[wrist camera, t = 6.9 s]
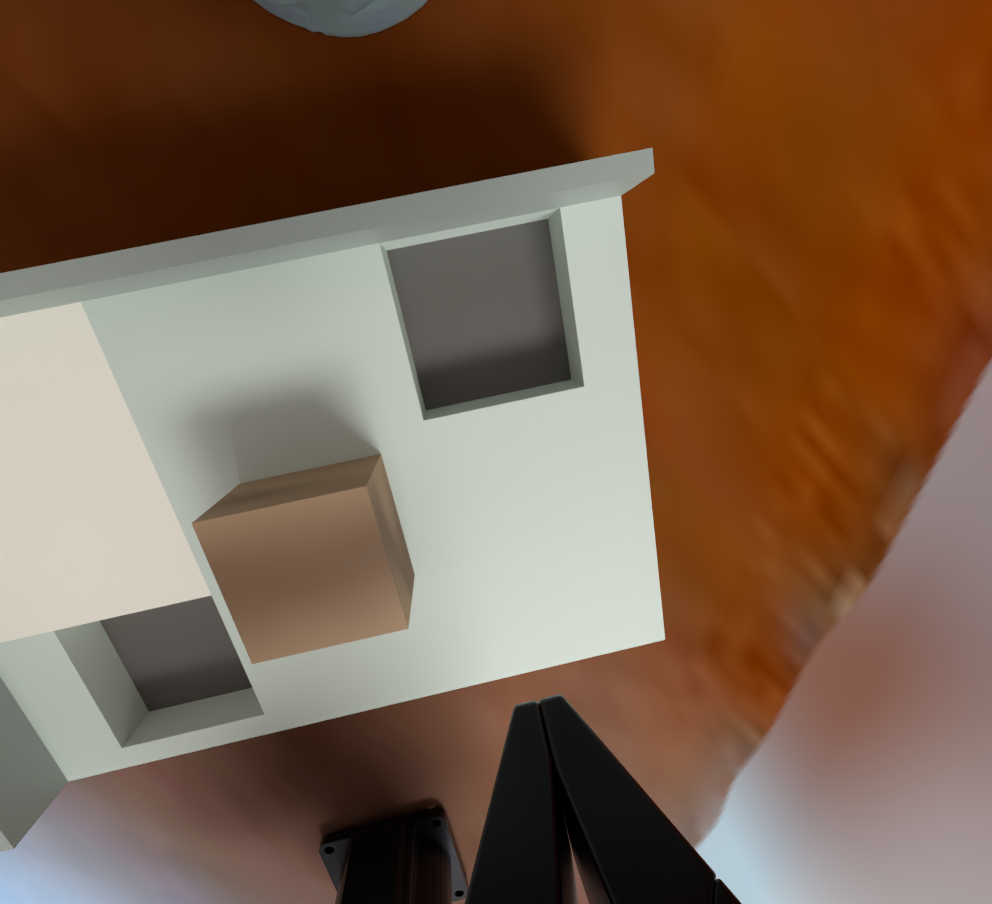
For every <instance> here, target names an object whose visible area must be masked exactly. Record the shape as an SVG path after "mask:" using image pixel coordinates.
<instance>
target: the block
mask: <svg viewBox="0 0 992 904" xmlns="http://www.w3.org/2000/svg"><path fill="white" fill-rule="evenodd" d="M191 524H192V526H193V528H194V531H195V533H196V535H197V537H198V540H199V542H200V544H201V547H202V549H203V551H204V554H205V556H206V558H207V561H208V563H209V565H210V568H211V570H212V572H213V575H214V577H215V579H216V582H217V584H218V586H219V589H220V591H221V593H222V595H223V598H224V600H225V602H226V605H227V607H228V609H229V612H230V614H231V616H232V619H233V621H234V623H235V626H236V628H237V630H238V633H239V635H240V637H241V640H242V642H243V644H244V646H245V649H246V651H247V653H248V656H249V658H250V660H251V663H252V664H256V663H260V662H264V661H269V660H273V659H278V658H282V657H286V656H291V655H295V654H300V653H304V652H308V651H313V650H317V649H322V648H326V647H330V646H335V645H339V644H344V643H348V642H352V641H357V640H361V639H366V638H370V637H374V636H379V635H383V634H388V633H392V632H396V631H401V630H405V629H408V627H409V619H410V611H411V602H412V594H413V586H414V578H415V574H414V570H413V567H412V563H411V559H410V556H409V552H408V549H407V545H406V542H405V538H404V534H403V531H402V527H401V524H400V520H399V516H398V513H397V509H396V506H395V502H394V498H393V495H392V491H391V488H390V484H389V481H388V477H387V473H386V470H385V466H384V463H383V459H382V455H381V454H378V455H373V456H369V457H364V458H359V459H354V460H350V461H345V462H340V463H335V464H331V465H326V466H321V467H316V468H312V469H307V470H302V471H297V472H293V473H288V474H283V475H278V476H274V477H269V478H264V479H259V480H255V481H250V482H245V483H240V484H239V485H237V486H236V487H235V488H234V489H232V490H231V491H230V492H229V493H228V494H226V495H225V496H224V497H223V498H222V499H220V500H219V501H218V502H217V503H215V504H214V505H213V506H212V507H211V508H209V509H208V510H207V511H206V512H205V513H203V514H202V515H201V516H200V517H199V518H197V519H196V520H195V521H194V522H192V523H191Z"/></svg>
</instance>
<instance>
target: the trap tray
mask: <svg viewBox="0 0 992 904" xmlns="http://www.w3.org/2000/svg"><path fill="white" fill-rule="evenodd" d="M652 174H654V161H653V149H652V148H648V149H643V150H638V151H633V152H628V153H622V154H617V155H612V156H607V157H602V158H596V159H591V160H586V161H581V162H576V163H570V164H565V165H560V166H555V167H550V168H545V169H539V170H534V171H529V172H524V173H519V174H513V175H508V176H503V177H498V178H493V179H487V180H482V181H477V182H472V183H467V184H461V185H456V186H451V187H446V188H441V189H436V190H430V191H425V192H420V193H415V194H410V195H404V196H399V197H394V198H389V199H384V200H378V201H373V202H368V203H363V204H358V205H352V206H347V207H342V208H337V209H332V210H327V211H321V212H316V213H311V214H306V215H301V216H295V217H290V218H285V219H280V220H275V221H269V222H264V223H259V224H254V225H249V226H243V227H238V228H233V229H228V230H223V231H218V232H212V233H207V234H202V235H197V236H192V237H186V238H181V239H176V240H171V241H166V242H160V243H155V244H150V245H145V246H140V247H134V248H129V249H124V250H119V251H114V252H108V253H103V254H98V255H93V256H88V257H83V258H77V259H72V260H67V261H62V262H57V263H51V264H46V265H41V266H36V267H31V268H25V269H20V270H15V271H10V272H5V273H0V852H2V851H6V850H11V849H14V848H15V847H16V845H17V844H18V843H19V842H20V841H21V839H22V838H23V837H24V836H25V834H26V833H27V832H28V831H29V829H30V828H31V827H32V826H33V824H34V823H35V822H36V821H37V819H38V818H39V817H40V816H41V815H42V813H43V812H44V811H45V810H46V808H47V807H48V806H49V805H50V803H51V802H52V801H53V800H54V798H55V797H56V796H57V795H58V793H59V792H60V791H61V790H62V789H63V787H64V786H65V785H66V784H67V782H68V781H72V780H76V779H81V778H85V777H89V776H93V775H97V774H102V773H106V772H110V771H114V770H118V769H123V768H127V767H131V766H135V765H139V764H144V763H148V762H152V761H156V760H160V759H165V758H169V757H173V756H177V755H182V754H186V753H190V752H194V751H198V750H203V749H207V748H211V747H215V746H219V745H224V744H228V743H232V742H236V741H240V740H245V739H249V738H253V737H257V736H261V735H266V734H270V733H274V732H278V731H283V730H287V729H291V728H295V727H299V726H304V725H308V724H312V723H316V722H320V721H325V720H329V719H333V718H337V717H341V716H346V715H350V714H354V713H358V712H362V711H367V710H371V709H375V708H379V707H384V706H388V705H392V704H396V703H400V702H405V701H409V700H413V699H417V698H421V697H426V696H430V695H434V694H438V693H442V692H447V691H451V690H455V689H459V688H463V687H468V686H472V685H476V684H480V683H485V682H489V681H493V680H497V679H501V678H506V677H510V676H514V675H518V674H522V673H527V672H531V671H535V670H539V669H543V668H548V667H552V666H556V665H560V664H564V663H569V662H573V661H577V660H581V659H586V658H590V657H594V656H598V655H602V654H607V653H611V652H615V651H619V650H623V649H628V648H632V647H636V646H640V645H644V644H649V643H653V642H657V641H661V640H665V634H664V624H663V614H662V604H661V594H660V583H659V573H658V563H657V553H656V543H655V533H654V523H653V513H652V503H651V493H650V483H649V473H648V463H647V453H646V443H645V433H644V423H643V413H642V403H641V393H640V383H639V372H638V362H637V352H636V342H635V332H634V322H633V312H632V302H631V292H630V282H629V272H628V262H627V252H626V242H625V232H624V222H623V212H622V202H621V195H623V194H624V193H626V192H627V191H629V190H630V189H632V188H633V187H635V186H636V185H638V184H639V183H641V182H642V181H643V180H645V179H646V178H648V177H649V176H651V175H652ZM378 454H381V455H382V459H383V463H384V466H385V470H386V473H387V477H388V481H389V484H390V488H391V491H392V495H393V498H394V502H395V506H396V509H397V513H398V516H399V520H400V524H401V527H402V531H403V534H404V538H405V542H406V545H407V549H408V552H409V556H410V559H411V563H412V567H413V570H414V574H415V578H414V586H413V594H412V602H411V611H410V619H409V627H408V629H405V630H401V631H396V632H392V633H388V634H383V635H379V636H374V637H370V638H366V639H361V640H357V641H352V642H348V643H344V644H339V645H335V646H330V647H326V648H322V649H317V650H313V651H308V652H304V653H300V654H295V655H291V656H286V657H282V658H278V659H273V660H269V661H264V662H260V663H256V664H252V663H251V660H250V658H249V656H248V653H247V651H246V649H245V646H244V644H243V642H242V640H241V637H240V635H239V633H238V630H237V628H236V626H235V623H234V621H233V619H232V616H231V614H230V612H229V609H228V607H227V605H226V602H225V600H224V598H223V595H222V593H221V591H220V589H219V586H218V584H217V582H216V579H215V577H214V575H213V572H212V570H211V568H210V565H209V563H208V561H207V558H206V556H205V554H204V551H203V549H202V547H201V544H200V542H199V540H198V537H197V535H196V533H195V531H194V528H193V526H192V524H191V523H192V522H194V521H195V520H196V519H197V518H199V517H200V516H201V515H202V514H203V513H205V512H206V511H207V510H208V509H209V508H211V507H212V506H213V505H214V504H215V503H217V502H218V501H219V500H220V499H222V498H223V497H224V496H225V495H226V494H228V493H229V492H230V491H231V490H232V489H234V488H235V487H236V486H237V485H239V484H240V483H245V482H250V481H255V480H259V479H264V478H269V477H274V476H278V475H283V474H288V473H293V472H297V471H302V470H307V469H312V468H316V467H321V466H326V465H331V464H335V463H340V462H345V461H350V460H354V459H359V458H364V457H369V456H373V455H378Z"/></svg>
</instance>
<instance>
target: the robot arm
mask: <svg viewBox="0 0 992 904" xmlns="http://www.w3.org/2000/svg"><path fill="white" fill-rule="evenodd" d="M539 706H540V707H539ZM562 809H563V810H562ZM564 818H565V819H564ZM565 823H566V824H565ZM566 827H567V828H566ZM567 831H568V833H567ZM568 836H569V838H568ZM569 840H570V843H571V847H572V851H573V855H574V858H575V861H576V864H577V868H578V871H579V874H580V877H581V880H582V883H583V886H584V889H585V892H586V895H587V898H588V901H589V904H741V903H740V902H739V900H738V899H737V898H736V897H735V896H734V894H733V893H732V892H731V891H730V890H729V889H728V887H727V886H726V885H725V884H724V883H723V882H722V881H721V880H720V879H717V880H716V875H715V873H714V871H713V870H712V869H711V868H710V867H709V866H708V864H707V863H706V862H705V861H704V860H703V859H702V857H701V856H699V854H698V853H697V852H696V850H695V849H694V848H693V847H692V846H691V845H690V843H689V842H688V841H687V840H686V839H685V838H684V836H683V835H682V834H681V833H680V832H679V831H678V829H677V828H676V827H675V826H674V825H673V824H672V822H671V821H670V820H669V819H668V818H667V817H666V815H665V814H664V813H663V812H662V811H661V810H660V808H659V807H658V806H657V805H656V804H655V803H654V801H653V800H652V799H651V798H650V797H649V796H648V794H647V793H646V792H645V791H644V790H643V789H642V787H641V786H640V785H639V784H638V783H637V782H636V780H635V779H634V778H633V777H632V776H631V775H630V773H629V772H628V771H627V770H626V769H625V768H624V766H623V765H622V764H621V763H620V762H619V761H618V759H617V758H616V757H615V756H614V755H613V754H612V752H611V751H610V750H609V749H608V748H607V747H606V745H605V744H604V743H603V742H602V741H601V740H600V738H599V737H598V736H597V735H596V734H595V733H594V731H593V730H592V729H591V728H590V727H589V726H588V724H587V723H586V722H585V721H584V720H583V719H582V717H581V716H580V715H579V714H578V713H577V712H576V710H575V709H574V708H573V707H572V706H571V705H570V703H569V702H568V701H567V700H566V699H565V698H564V697H563V696H562V695H554V696H550V697H546V698H542V699H540V701H539V704H538V702H537V701H535V700H533V701H529V702H525V703H521V704H517V705H516V706H515V707H514V709H513V713H512V717H511V721H510V725H509V729H508V733H507V737H506V741H505V745H504V749H503V753H502V757H501V761H500V765H499V769H498V773H497V777H496V781H495V785H494V789H493V793H492V797H491V801H490V805H489V809H488V813H487V817H486V821H485V825H484V829H483V833H482V837H481V841H480V845H479V849H478V853H477V857H476V861H475V865H474V869H473V873H472V877H471V881H470V885H469V889H468V881H467V878H466V875H465V872H464V869H463V865H462V862H461V859H460V856H459V853H458V850H457V847H456V843H455V840H454V837H453V834H452V831H451V828H450V825H449V821H448V818H447V815H446V813H445V811H444V810H442V809H439V808H437V809H431V810H427V811H423V812H419V813H415V814H411V815H407V816H403V817H399V818H395V819H391V820H387V821H383V822H379V823H375V824H371V825H367V826H363V827H359V828H355V829H351V830H347V831H342V832H338V833H334V834H330V835H327V836H325V837H324V838H322V840H321V844H320V848H319V853H320V855H321V857H322V860H323V862H324V864H325V866H326V868H327V871H328V873H329V875H330V877H331V879H332V882H333V884H334V886H335V888H336V891H337V896H336V902H335V904H452V902H454V901H458V900H461V899H464V898H466V901H465V904H578V897H577V889H576V881H575V873H574V866H573V860H572V853H571V848H570V843H569Z"/></svg>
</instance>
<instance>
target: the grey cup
mask: <svg viewBox="0 0 992 904" xmlns="http://www.w3.org/2000/svg"><path fill="white" fill-rule="evenodd" d="M253 1H255V2H256V3H258V4H259V5H260V6H262V7H263V8H264V9H266V10H267V11H269V12H270V13H272V14H274V15H276V16H278V17H280V18H282V19H284V20H286V21H288V22H290V23H292V24H295V25H298V26H301V27H304V28H306V29H308V30H310V31H311V32H317V31H319V32H322V33H323V34H325V35H329V36H337V37H361V36H365V35H369V34H373V33H377V32H380V31H382V30H385V29H387V28H389V27H392V26H394V25H396V24H397V23H399V22H401V21H403V20H405V19H407V18H408V17H410V16H411V15H412V14H413V13H415V12H416V11H417V10H418V9H420V8H421V7H422V6H423V5H424V4H425V3H426V2H427V0H253Z"/></svg>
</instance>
